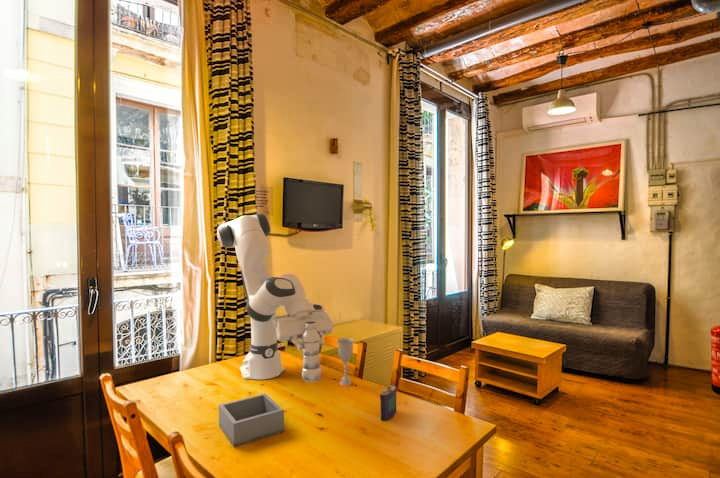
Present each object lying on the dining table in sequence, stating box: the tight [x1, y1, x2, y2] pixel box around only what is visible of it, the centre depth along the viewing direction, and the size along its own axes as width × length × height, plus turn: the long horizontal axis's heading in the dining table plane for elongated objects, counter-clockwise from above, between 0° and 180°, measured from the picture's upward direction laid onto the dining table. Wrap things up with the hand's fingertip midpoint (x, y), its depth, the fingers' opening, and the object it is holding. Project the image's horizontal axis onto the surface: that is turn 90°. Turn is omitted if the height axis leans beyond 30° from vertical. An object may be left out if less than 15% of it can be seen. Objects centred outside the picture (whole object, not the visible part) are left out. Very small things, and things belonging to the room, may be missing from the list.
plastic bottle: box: [300, 321, 322, 383], centre depth 136 cm, size 6×7×20 cm
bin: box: [218, 393, 285, 448], centre depth 130 cm, size 16×16×7 cm
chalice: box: [336, 337, 355, 386], centre depth 168 cm, size 7×7×18 cm
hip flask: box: [379, 384, 397, 422], centre depth 138 cm, size 9×3×11 cm, turn 148°
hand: (311, 347), depth 136 cm, fingers closed on plastic bottle, 6 cm apart
